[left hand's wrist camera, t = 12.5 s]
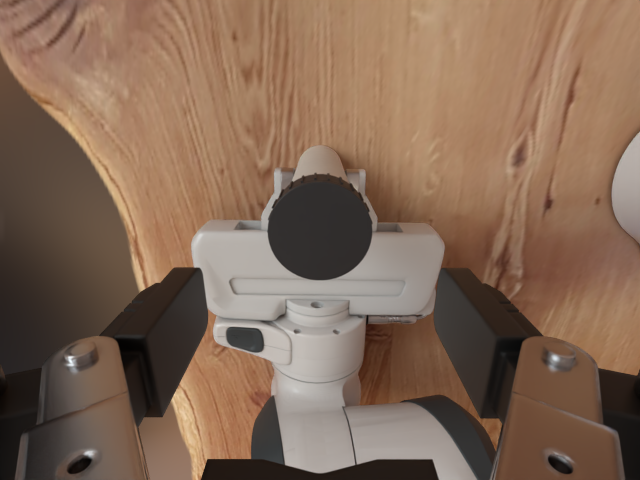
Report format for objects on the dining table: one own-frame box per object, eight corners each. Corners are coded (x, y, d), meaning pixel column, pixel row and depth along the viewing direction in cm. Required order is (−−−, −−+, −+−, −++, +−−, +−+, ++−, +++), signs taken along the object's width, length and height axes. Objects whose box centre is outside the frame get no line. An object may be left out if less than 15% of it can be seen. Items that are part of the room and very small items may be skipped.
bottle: (291, 153, 33) (263, 204, 16) (333, 138, 33) (348, 175, 16) (307, 194, 35) (294, 280, 18) (347, 180, 34) (373, 255, 17)
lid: (255, 191, 18) (248, 201, 16) (351, 157, 17) (355, 163, 15) (291, 276, 19) (288, 294, 17) (380, 248, 19) (386, 264, 17)
